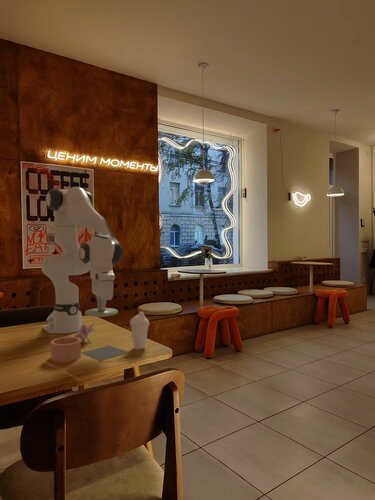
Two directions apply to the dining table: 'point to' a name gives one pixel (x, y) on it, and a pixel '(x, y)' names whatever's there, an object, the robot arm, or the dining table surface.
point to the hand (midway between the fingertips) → (101, 307)
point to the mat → (104, 352)
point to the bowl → (65, 349)
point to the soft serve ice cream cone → (139, 330)
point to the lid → (101, 311)
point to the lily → (84, 332)
